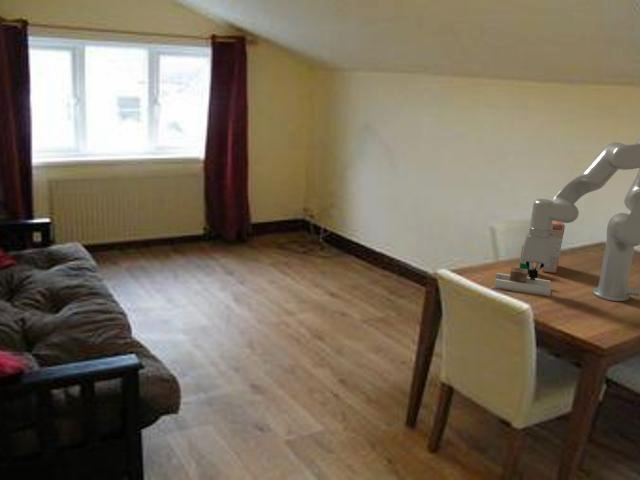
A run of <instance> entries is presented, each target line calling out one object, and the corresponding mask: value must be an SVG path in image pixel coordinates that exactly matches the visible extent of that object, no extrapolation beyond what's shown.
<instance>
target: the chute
mask: <svg viewBox="0 0 640 480" xmlns="http://www.w3.org/2000/svg"><path fill="white" fill-rule="evenodd" d="M509 280H510V274H509V273H508V274H507V273H500V272H496V275H495V281H494V289H500V290H501V289H502V290H507V291H514V292H522V293H526V294H534V295H540V296H547V297H550V296H551V293H552V287H551V282H552V281H551V280H547V279H541V278H535V281H534V280H533V279H532V280H530V277H529V276H527V281H526V283H521V282H514V281H509Z"/></svg>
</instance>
